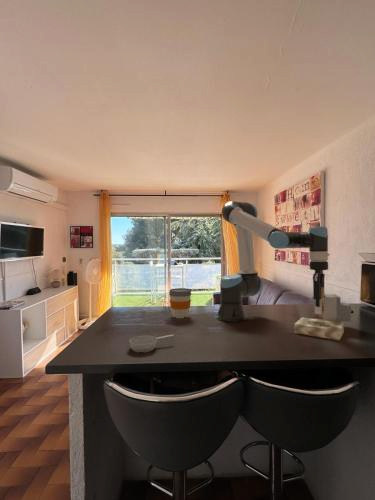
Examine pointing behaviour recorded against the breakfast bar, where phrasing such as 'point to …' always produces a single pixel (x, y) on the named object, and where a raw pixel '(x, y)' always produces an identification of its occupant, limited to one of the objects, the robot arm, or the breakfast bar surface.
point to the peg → (321, 316)
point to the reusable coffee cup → (180, 302)
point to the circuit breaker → (336, 309)
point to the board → (319, 328)
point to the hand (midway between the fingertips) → (319, 312)
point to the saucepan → (145, 343)
